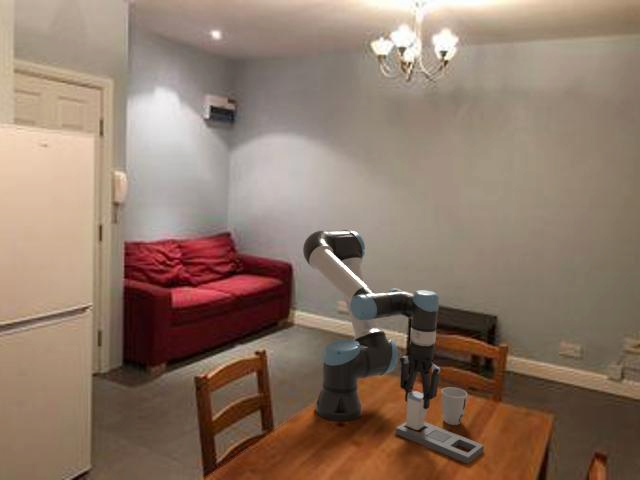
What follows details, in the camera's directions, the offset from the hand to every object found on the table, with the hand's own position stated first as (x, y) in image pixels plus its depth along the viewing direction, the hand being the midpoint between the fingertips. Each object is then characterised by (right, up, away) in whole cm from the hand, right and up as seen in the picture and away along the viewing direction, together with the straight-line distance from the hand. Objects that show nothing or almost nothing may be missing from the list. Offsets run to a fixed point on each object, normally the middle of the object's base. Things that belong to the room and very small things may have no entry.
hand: (415, 414), depth 170 cm
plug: (0, -4, +1) cm, 4 cm away
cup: (+13, -6, +10) cm, 18 cm away
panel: (+6, -7, -5) cm, 10 cm away
